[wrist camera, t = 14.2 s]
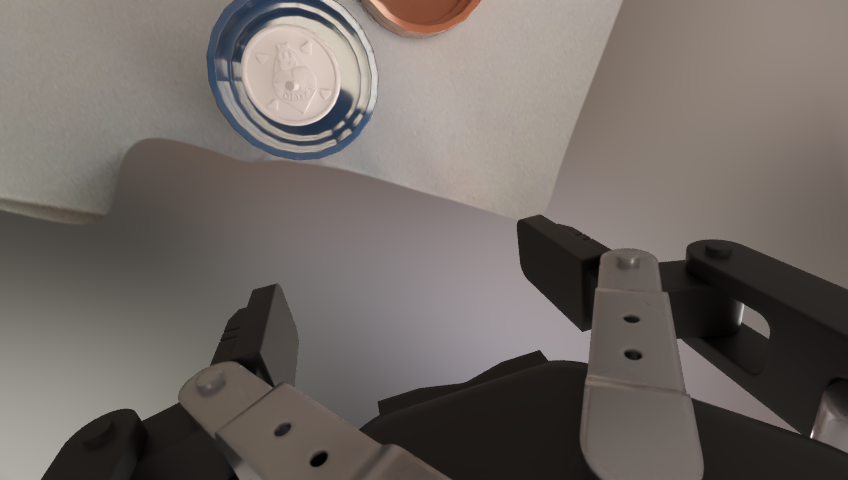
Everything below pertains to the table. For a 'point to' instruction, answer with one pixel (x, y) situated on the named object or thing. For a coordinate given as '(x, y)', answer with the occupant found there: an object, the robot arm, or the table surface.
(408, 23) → the terracotta bowl
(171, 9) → the table surface
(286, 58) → the smoothie
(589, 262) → the robot arm
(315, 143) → the blue bowl
